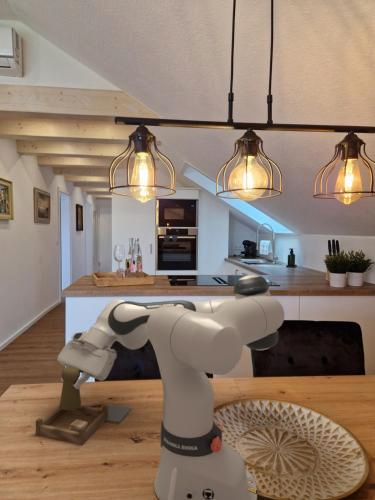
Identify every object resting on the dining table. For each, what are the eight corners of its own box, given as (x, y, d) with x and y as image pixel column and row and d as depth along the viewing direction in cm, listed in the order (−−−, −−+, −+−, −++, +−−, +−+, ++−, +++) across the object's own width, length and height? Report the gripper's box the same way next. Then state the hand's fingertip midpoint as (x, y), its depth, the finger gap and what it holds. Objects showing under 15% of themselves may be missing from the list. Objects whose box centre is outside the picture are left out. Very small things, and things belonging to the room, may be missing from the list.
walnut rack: (107, 418, 98) (108, 405, 98) (83, 444, 86) (83, 430, 85) (65, 410, 102) (65, 397, 102) (35, 434, 89) (35, 420, 89)
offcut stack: (89, 432, 91) (89, 420, 91) (81, 440, 87) (81, 427, 87) (74, 429, 92) (74, 417, 92) (66, 437, 88) (66, 424, 88)
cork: (66, 398, 100) (67, 363, 99) (84, 401, 99) (85, 365, 98) (55, 408, 94) (55, 370, 94) (74, 411, 93) (74, 373, 92)
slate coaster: (131, 409, 103) (131, 407, 103) (119, 423, 96) (119, 421, 96) (108, 405, 105) (108, 403, 105) (95, 419, 98) (95, 417, 98)
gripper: (124, 356, 99) (98, 400, 92) (81, 342, 111) (55, 380, 103) (114, 345, 95) (85, 390, 88) (70, 332, 107) (42, 371, 99)
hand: (68, 385), depth 96 cm, fingers closed on cork, 4 cm apart
